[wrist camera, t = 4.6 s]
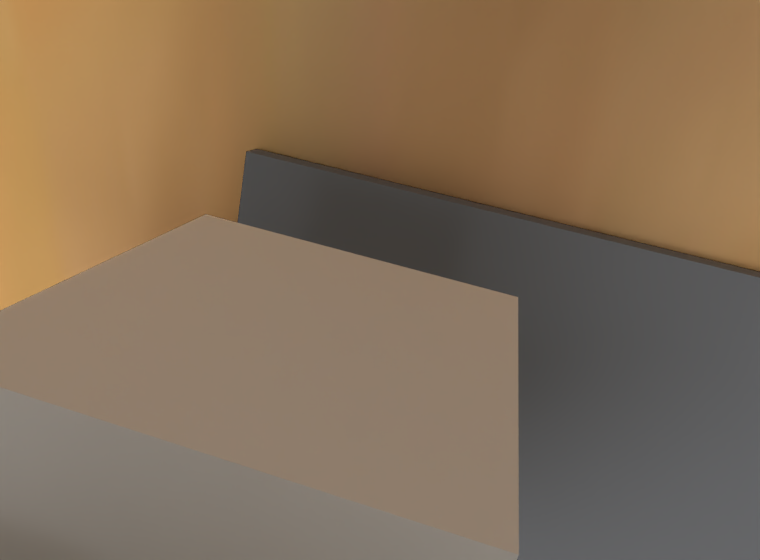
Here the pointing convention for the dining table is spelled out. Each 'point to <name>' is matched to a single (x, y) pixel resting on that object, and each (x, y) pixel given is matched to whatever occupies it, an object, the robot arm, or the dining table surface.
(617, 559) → the mat
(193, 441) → the card deck case
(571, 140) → the dining table surface
